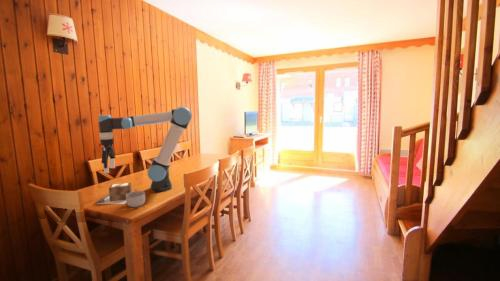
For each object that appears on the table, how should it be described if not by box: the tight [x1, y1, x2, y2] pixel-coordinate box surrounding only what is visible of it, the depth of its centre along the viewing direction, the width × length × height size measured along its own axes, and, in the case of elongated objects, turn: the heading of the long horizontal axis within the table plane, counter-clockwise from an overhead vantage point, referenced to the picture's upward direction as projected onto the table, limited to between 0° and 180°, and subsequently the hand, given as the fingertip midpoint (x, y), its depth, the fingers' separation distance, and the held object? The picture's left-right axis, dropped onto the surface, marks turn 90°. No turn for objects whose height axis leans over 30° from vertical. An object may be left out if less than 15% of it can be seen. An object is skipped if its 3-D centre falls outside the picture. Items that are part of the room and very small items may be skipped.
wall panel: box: [94, 193, 127, 205], centre depth 168 cm, size 18×20×2 cm
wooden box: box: [108, 182, 132, 201], centre depth 167 cm, size 12×8×9 cm, turn 109°
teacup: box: [126, 190, 146, 208], centre depth 157 cm, size 14×11×8 cm
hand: (109, 170), depth 168 cm, fingers open, 13 cm apart
